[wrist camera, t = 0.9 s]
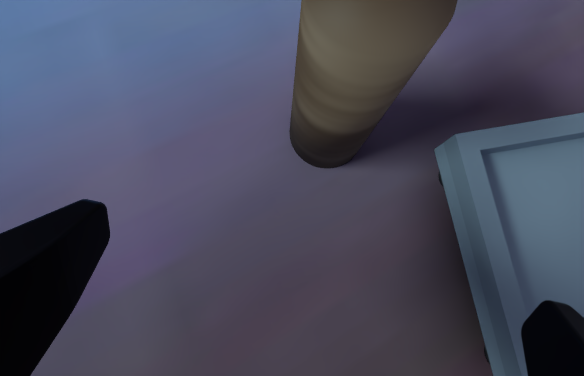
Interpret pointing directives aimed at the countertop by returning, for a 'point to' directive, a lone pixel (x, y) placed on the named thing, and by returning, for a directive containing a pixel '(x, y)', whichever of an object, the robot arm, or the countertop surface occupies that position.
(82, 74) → the countertop surface
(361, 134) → the walnut spindle
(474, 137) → the tray
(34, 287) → the robot arm
